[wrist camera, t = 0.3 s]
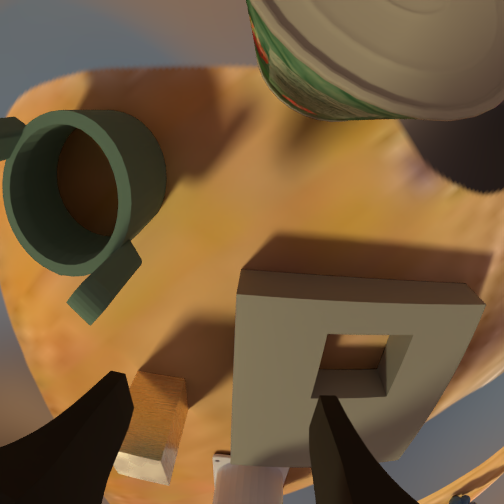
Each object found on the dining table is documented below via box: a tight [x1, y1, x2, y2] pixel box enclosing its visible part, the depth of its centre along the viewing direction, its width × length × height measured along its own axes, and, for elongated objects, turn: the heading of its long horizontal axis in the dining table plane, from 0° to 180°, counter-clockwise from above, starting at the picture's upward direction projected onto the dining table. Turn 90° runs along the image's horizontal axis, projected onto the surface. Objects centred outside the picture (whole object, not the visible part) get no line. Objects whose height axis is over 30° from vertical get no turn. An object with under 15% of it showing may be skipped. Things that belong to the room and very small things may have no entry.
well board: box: [230, 269, 486, 467], centre depth 21 cm, size 18×16×3 cm
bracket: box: [0, 110, 167, 325], centre depth 14 cm, size 9×9×9 cm
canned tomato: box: [246, 0, 504, 122], centre depth 9 cm, size 8×8×11 cm
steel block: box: [113, 371, 188, 485], centre depth 20 cm, size 4×4×8 cm
